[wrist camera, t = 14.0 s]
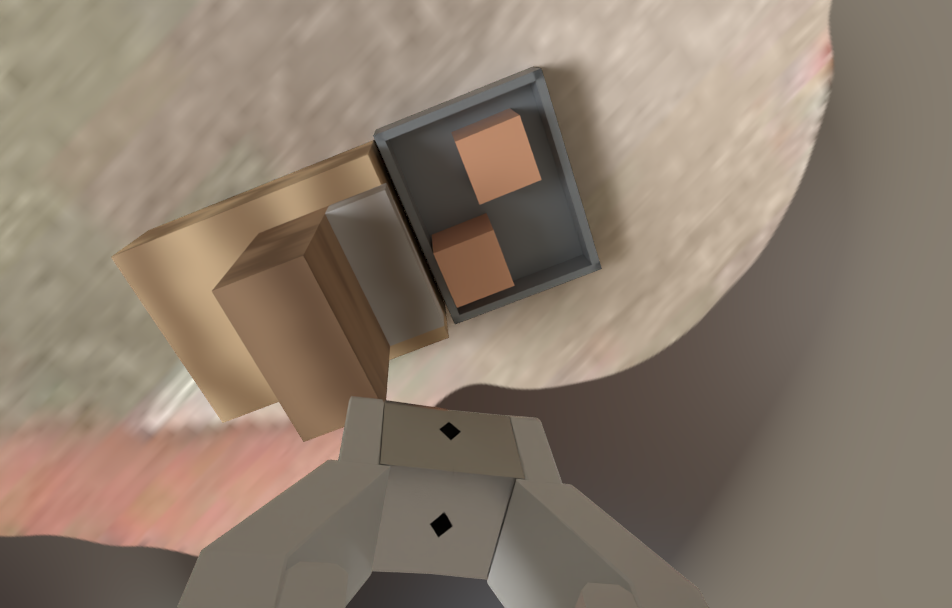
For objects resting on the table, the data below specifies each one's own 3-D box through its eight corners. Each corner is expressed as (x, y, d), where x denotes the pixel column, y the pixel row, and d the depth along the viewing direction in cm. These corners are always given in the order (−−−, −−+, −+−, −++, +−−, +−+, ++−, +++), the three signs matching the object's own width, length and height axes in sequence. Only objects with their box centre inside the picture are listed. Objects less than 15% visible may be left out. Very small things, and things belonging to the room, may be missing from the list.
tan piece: (243, 381, 50) (222, 422, 45) (148, 230, 44) (111, 257, 39) (444, 304, 49) (448, 337, 44) (373, 140, 43) (367, 154, 38)
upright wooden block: (326, 357, 43) (303, 441, 34) (258, 233, 39) (211, 291, 30) (443, 313, 43) (451, 387, 34) (386, 182, 39) (377, 226, 30)
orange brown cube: (456, 307, 44) (514, 285, 44) (433, 253, 42) (493, 229, 42) (453, 285, 48) (505, 264, 48) (431, 234, 46) (486, 213, 46)
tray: (452, 308, 49) (454, 324, 47) (375, 129, 43) (373, 135, 40) (591, 256, 49) (601, 268, 46) (533, 66, 42) (541, 68, 40)
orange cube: (541, 179, 41) (529, 167, 45) (519, 115, 39) (509, 108, 43) (479, 204, 41) (473, 189, 45) (455, 141, 39) (451, 132, 43)
